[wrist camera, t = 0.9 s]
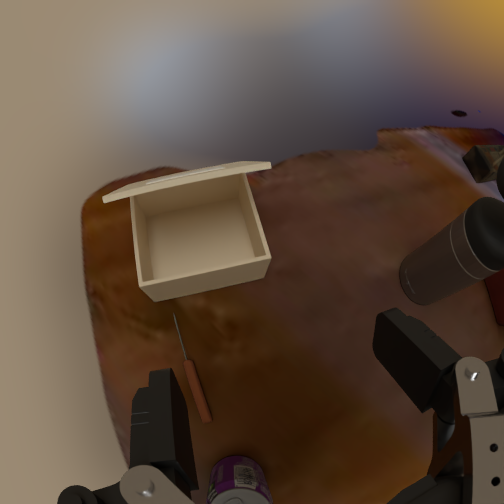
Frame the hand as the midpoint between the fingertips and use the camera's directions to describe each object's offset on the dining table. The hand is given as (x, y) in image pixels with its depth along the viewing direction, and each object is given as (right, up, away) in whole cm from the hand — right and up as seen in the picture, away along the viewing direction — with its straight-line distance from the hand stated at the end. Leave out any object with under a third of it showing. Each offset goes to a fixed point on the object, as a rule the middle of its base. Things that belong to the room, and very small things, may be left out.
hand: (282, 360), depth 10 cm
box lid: (-9, +12, +23) cm, 27 cm away
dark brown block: (+61, +26, +49) cm, 82 cm away
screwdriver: (-9, -12, +28) cm, 32 cm away
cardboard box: (-9, +5, +34) cm, 36 cm away
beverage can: (-3, -27, +22) cm, 35 cm away
